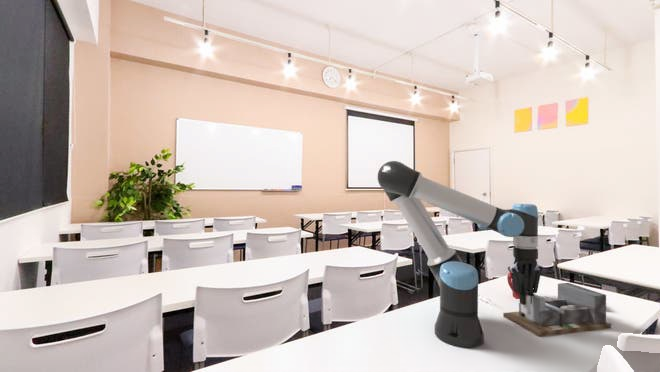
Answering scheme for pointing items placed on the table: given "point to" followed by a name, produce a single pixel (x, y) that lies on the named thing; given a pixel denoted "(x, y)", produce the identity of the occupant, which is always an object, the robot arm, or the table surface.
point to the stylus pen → (489, 302)
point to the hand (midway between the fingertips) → (525, 313)
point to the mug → (512, 286)
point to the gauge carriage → (542, 309)
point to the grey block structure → (567, 313)
